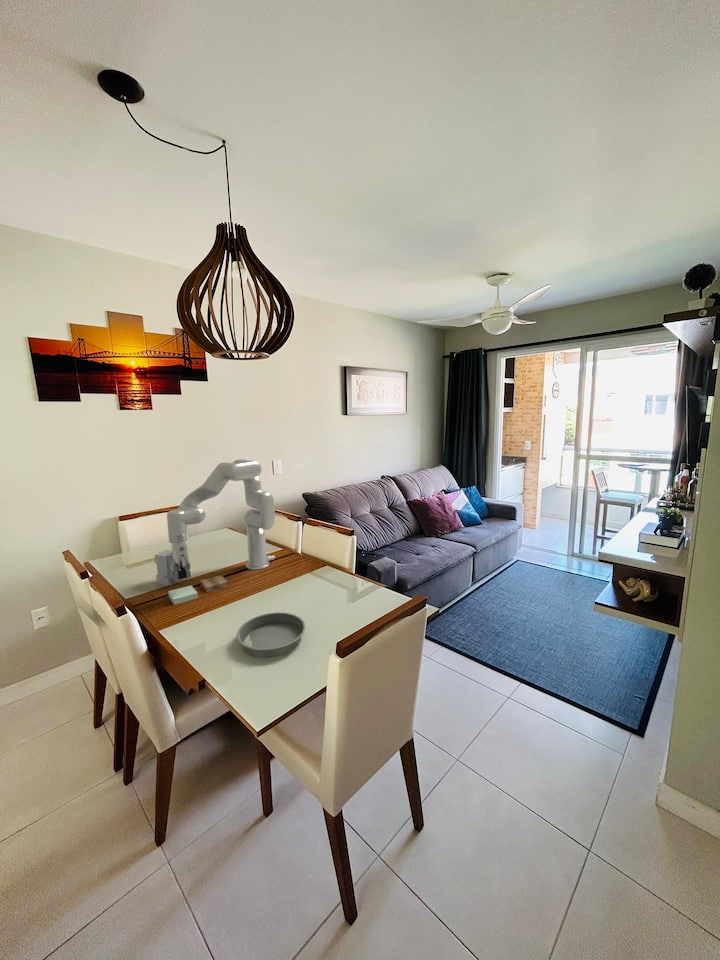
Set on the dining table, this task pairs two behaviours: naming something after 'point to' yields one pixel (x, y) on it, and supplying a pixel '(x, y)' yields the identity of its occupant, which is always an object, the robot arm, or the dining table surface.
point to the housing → (175, 570)
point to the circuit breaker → (164, 567)
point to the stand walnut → (214, 583)
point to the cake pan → (272, 634)
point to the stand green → (182, 594)
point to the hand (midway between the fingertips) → (181, 575)
